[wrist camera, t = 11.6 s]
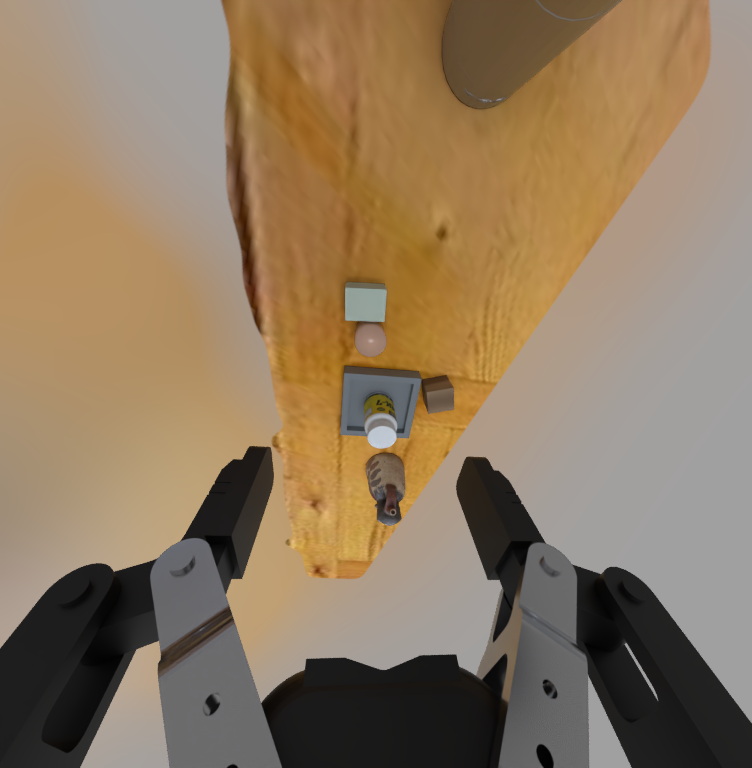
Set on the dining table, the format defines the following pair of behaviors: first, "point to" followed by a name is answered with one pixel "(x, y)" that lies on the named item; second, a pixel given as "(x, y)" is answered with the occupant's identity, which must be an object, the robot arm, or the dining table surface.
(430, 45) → the dining table surface
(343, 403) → the tray
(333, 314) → the dining table surface
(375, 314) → the sage block
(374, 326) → the pink rounded capsule
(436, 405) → the walnut block
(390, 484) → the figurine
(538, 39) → the robot arm
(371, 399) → the supplement bottle
